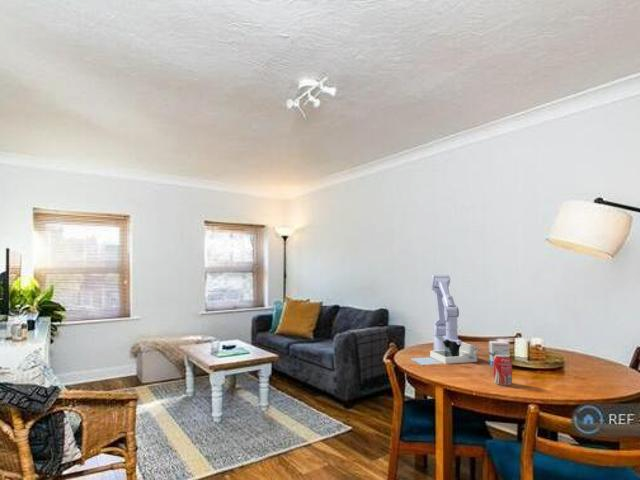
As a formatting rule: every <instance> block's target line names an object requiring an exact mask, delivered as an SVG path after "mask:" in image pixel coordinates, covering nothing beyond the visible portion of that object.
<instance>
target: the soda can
mask: <svg viewBox="0 0 640 480" xmlns="http://www.w3.org/2000/svg"><path fill="white" fill-rule="evenodd" d="M492 367H493V382H494V383H495V384H496V385H498V386H503V387H508V386H510V385H512V384H513V363H512V359H511V356H510V355H507V354H495V357H494V359H493V366H492Z"/></svg>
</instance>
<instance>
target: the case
mask: <svg viewBox="0 0 640 480" xmlns="http://www.w3.org/2000/svg"><path fill="white" fill-rule="evenodd" d="M478 351H480V348H479V347H477V345H473V344H469V343H467V342H464V341H462V344H461V346H460V348H459V356H455V357H445V350H439V351H432V350H430V351H429V357H430V358H432V359H434V360H436V361H439V362H441V363H442V364H444V365H449V364H451V365H452V364H462V363H475V362H476V363H477V362H478Z"/></svg>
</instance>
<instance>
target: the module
mask: <svg viewBox="0 0 640 480" xmlns="http://www.w3.org/2000/svg"><path fill="white" fill-rule="evenodd" d="M457 356H459V350H458V354H457ZM445 357H452V350H451V346H445Z"/></svg>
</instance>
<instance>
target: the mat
mask: <svg viewBox="0 0 640 480" xmlns="http://www.w3.org/2000/svg"><path fill="white" fill-rule="evenodd" d="M410 360H411V361H413V362H414V363H417V364H418V365H421V366H422V367H423V366H425V365H438V364H439V365H440V364H441V365H442V364H443V362H440V361H438V360H436V359H434V358H432V357H430V356H429V357H428V356H426V357H413V358H412V357H411V358H410Z"/></svg>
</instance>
